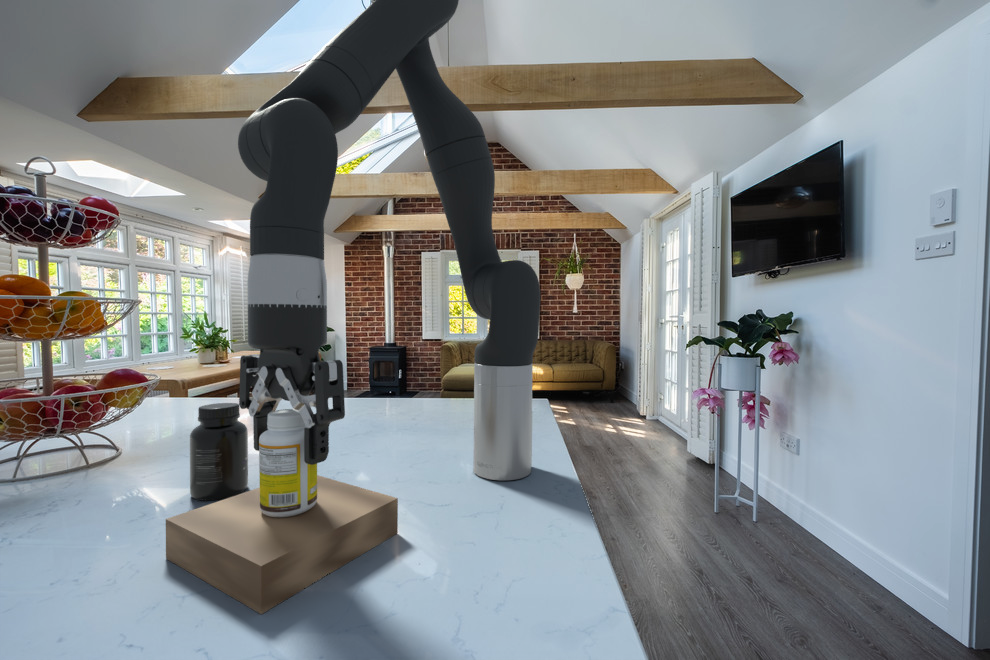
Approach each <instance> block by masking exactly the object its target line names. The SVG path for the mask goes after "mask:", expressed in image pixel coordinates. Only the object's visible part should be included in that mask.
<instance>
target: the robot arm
mask: <svg viewBox="0 0 990 660" xmlns="http://www.w3.org/2000/svg"><path fill="white" fill-rule="evenodd" d="M370 1H371V4H370V5H369V6H367V8H365V10H363V11H362V12H361V13H360V14H358V15H357V17H355V18H354V19H353V20H352V21H351V22H350V23H348V24H347V25H346V26H345V27H344V28H343V29H342V30H340V31H339V32H338V33H337V34H336V35H335V36H334V37H333V38H331V39H330V40H329V41H328V42H327V43H326V44H325V45H324V46H323V47H322V48H321V49H320V50H319V51H317V53H316V54H315V55H314V56H313V57H312V58H311V59H309V61H308V63H307V64H305V65H304V67H303V68H302V69H301V71H300V72H299V73H298V75H297V76H296V77H295V78H294V79H293V80H292V81H291V82H290V83H288V84H287V85H286V86H285V87H283V88H282V89H281V90H280V91H278V92H277V93H276V94H274V95H273V96H272V97H271V98H269V99H268V100H267V101H266V102H264V103H263V104H262V105H261V106H259V107H258V109H256V110H255V111H254V112H253V113H251V114H250V116H249V117H248V118H246V120H245V121H244V122H243V124H242V126H241V128H240V130H239V133H238V137H237V138H238V139H237V148H238V153H239V156H240V159H241V160H242V163H243V164H244V166H245V167H246V168H247V170H248V171H250V173H251V174H253V175H254V176H256V177H257V178H258V179H261V180H262V181H265V182H266V187H265V191H264V193H263V194H262V196H261V197H259V199H258V200H256V202H254V204H253V205H252V208H251V211H250V215H249V216H250V218H249V267H248V272H247V283H246V284H247V344H248V346H249V347H251V348H252V349H256V350H260V352H259V354H258V353H255V354H247V355H242V356H241V357H240V360H239V361H240V362H239V365H240V366H239V392H238V393H239V396H238V397H239V398H238V404H239V409H241V410H244V409H247V410H248V414H249V416H250V417H252V418H253V420H252V421H253V424H252V425H253V433H252V434H253V449H254V450H255V451H257V452H259V437H260V435H261V434H262V433H263V432H265V431H267V430H268V428H267V426H268V425H267V420H268V414H269V413H270V412H273V411H277V408H278V406H279V404H280V402H281V401H282V400H283V401H287V402H289V403H290V405H291V407H292V409H295V410H298V411H299V412H300V414H301V417H302V419H303V421H304V423H305V425H306V428H304V461H305V463H307V464H310V465H314V464H317V465H318V464H320V463H322V462H325V461H326V460H327V458H328V456H329V455H328V454H329V452H330V449H329V448H330V446H329V445H330V444H329V442H330V437H329V435H330V432H329V430H330V425H331V423H333V422H336V421H340V420H342V419H344V418H345V416H346V411H345V410H346V409H345V407H346V406H345V405H346V404H345V387H344V385H345V384H344V383H345V382H344V365H343V362H342V361H341V359H333V360H321V357H320V353H319V352H320V351H319V350H320V348H322V347H325V346H326V345H327V343H328V296H327V295H328V294H327V293H328V292H327V291H328V288H327V287H328V286H327V285H328V284H327V283H328V282H327V275H326V274H327V273H326V269H325V268H326V267H325V226H324V225H325V219H326V218H325V217H326V215H327V211H328V207H329V203H330V200H331V196H332V192H333V187H334V183H335V179H336V173H337V168H338V161H339V160H338V159H339V158H338V157H339V150H338V149H339V148H338V147H339V146H338V140H337V136H336V134H338V133H340V132H341V131H344V130H346V129H347V128H349V126H351V125H352V124H354V122H355V121H356V120H357V119H358V117H359V116H360V115H362V113H363V111H364V110H365V109H366V108H367V106H368V105H369V104H370V103H371V102H372V100H373V99H374V98H375V97H376V95H377V94H378V92H379V91H380V90H381V89H382V87H383V86H384V85H385V83H386V82H387V81H388V79H389V78H390V77H391V75H392V74H393V73H394V72H395V71H396V72H397V75H398V78H399V80H400V82H401V85H402V87H403V90H404V93H405V95H406V99H407V101H408V104H409V105H408V106H409V108H410V110H411V112H412V115H413V119H414V121H415V124H416V127H417V130H418V133H419V136H420V137H419V138H420V139H421V140H420V141H421V143H422V147H423V150H424V153H425V157H426V160H427V164H428V167H429V169H430V172H431V176H432V178H433V181H434V184H435V187H436V190H437V192H438V195H439V197H440V198H439V199H440V202H441V205H442V207H443V213H444V215H445V218H446V221H447V225H448V227H449V231H450V233H451V236H452V237H451V238H452V240H453V243H454V248H455V252H456V256H457V261H458V266H459V271H460V275H461V280H462V285H463V290H464V292H465V296H466V299H467V302H468V304H469V306H470V308H471V309H472V311H473V312H474V314H476V315H477V316H479V317H480V318H482V319H485V320H487V321H488V320H489V327H488V333H487V335H486V336H485V338H484V339H483V340H482V341H480V342H479V343H477V345H476V346H475V348H474V356H473V357H474V360H473V361H474V365H473V367H474V368H473V369H474V370H473V371H474V373H473V376H474V379H473V380H474V382H473V384H474V385H473V386H474V387H473V468H472V469H473V473H474V474H475V475H476V476H478V477H480V478H484V479H487V480H493V481H514V480H515V481H516V480H520V479H524V478H526V477H528V476H529V475H530V474H531V473H532V466H533V465H532V463H533V458H532V457H533V360H534V359H533V358H534V357H533V356H534V352H535V350H536V349H537V344H538V341H539V331H540V312H541V286H540V282H539V281H540V280H539V278H538V275H537V273H536V271H535V269H533V267H532V266H531V265H530V264H528V263H527V262H525V261H523V260H520V259H518V260H517V259H512V260H504V261H503V260H502V259H501V257H500V254H499V251H498V248H497V244H496V241H495V237H494V233H493V232H494V231H493V225H492V224H493V210H494V209H493V207H494V206H493V205H494V199H495V198H494V197H495V187H496V179H495V178H496V176H495V168H494V163H493V159H492V155H491V152H490V149H489V144H488V141H487V138H486V134H485V132H484V129H483V126H482V124H481V122H480V121H479V119H478V118H477V116H476V115H475V114H474V113H473V111H471V109H470V108H469V107H468V106H467V105H466V103H464V102H463V100H462V99H460V98H459V97H458V96H457V95H456V94H455V93H454V92H453V91H452V90H451V89H450V87H448V85H447V84H446V83H445V81H444V79H442V77H441V74H440V72H439V70H438V67H437V64H436V61H435V58H434V55H433V52H432V49H431V44H430V38H431V37H432V36H434V35H435V33H437V32H438V31H440V30H441V29H442V28H443V27H444V26H445V25H446V24H448V23H449V21H450V20H451V19H452V18H453V16H455V13H456V12H457V8H458V5H459V2H460V1H459V0H370ZM252 387H253V389H252V392H251V388H252ZM311 392H312V394H311ZM250 393H251V394H250ZM250 395H251V396H250ZM331 397H332V408H329V399H330V398H331ZM312 407H313V408H315V411H316V412H315V413H314V412H313V409H312Z"/></svg>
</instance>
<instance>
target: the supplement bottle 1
mask: <svg viewBox="0 0 990 660" xmlns="http://www.w3.org/2000/svg"><path fill="white" fill-rule="evenodd" d="M197 409H198V411H197V412H198V413H197V415H198V417H197V421H198V423H199V422H200V424H199V425H197V426H195V428H193V429H192V431H191V432H190V434H189V491H190V492H189V493H190V496H191V498H193V499H194V500H198V501H214V500H217V501H218V500H224V499H227V498H230V497H233V496H236V495H239V494H242V493H243V492H244V491H245V490H246V489H247V487H248V485H249V439H248V438H249V435H248V427H247V425H246V424H245V423H243V422H241V421H239V418H241V413H240V405H239V403H238V402H237V403H235V402H222V403H211V404H210V403H209V404H205V405H204V404H203V405H202V406H201V405H200V406H199V407H198V408H197Z"/></svg>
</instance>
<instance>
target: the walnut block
mask: <svg viewBox="0 0 990 660" xmlns="http://www.w3.org/2000/svg"><path fill="white" fill-rule="evenodd" d="M398 502H399V498H398V497H395V496H391V495H388V494H384V493H380V492H377V491H373V490H370V489H367V488H365V487H364V488H363V487H361V486H356V485H353V484H349V483H346V482H343V481H338V480H336V479H332V478H329V477H326V476H325V477H324V476H322V475H318V474H317V502H316V504H315V505H314V506H313V507H312V508H311V509H309V510H307V511H306V512H303V513H301V514H298V515H294V516H289V517H270V516H267V515H265V514H263V513H262V511H261V509H260V487H258V488H254V489H251V490H248V491H245V492H241V493H239V494H236V495H234V496H231V497H227V498H223V499H220V500H219V501H218V500H217V501H216V502H212V503H209V504H206V505H203V506H201V507H198V508H194V509H191V510H189V511H186V512H183V513H179V514H176V515H173V516H171V517H167V518H165V559H166V560H168V561H169V562H171V563H173V564H174V565H176V566H178V567H179V568H182V569H183V570H184V571H186V572H188V573H190V574H191V575H194V576H195V577H197V578H198V579H199V580H201V581H204V582H205V583H206V584H209V585H210V586H212V587H214V588H216V589H217V590H218V591H221V592H222V593H224V594H225V595H227V596H229V597H231V598H232V599H235V600H236V601H238V602H240V603H241V604H243V605H245V606H247V607H248V608H249V609H252V610H253V611H255V612H256V613H259V614H260V615H263V614H264V613H266V612H267V611H270V610H271V609H273V608H274V607H276V606H277V604H278V605H279V604H282V602H285V601H286V600H288V599H291V597H292V596H295V595H296V594H298V593H301V591H304V590H305V589H306V588H308V587H310V586H311V585H313V584H314V582H315V583H316V582H318V581H320V580H322V579H323V578H324V576H325V577H327V576H328V575H330V574H332V573H334V572H335V571H336V570H338V569H340V568H342V567H343V566H345V565H346V564H348V563H350V562H352V561H353V560H355V559H357V558H358V557H360V556H362V555H363V554H365V553H367V552H368V551H371V550H372V549H374V548H375V547H378V546H379V545H381V544H382V543H384V542H386V541H387V540H388V539H390V538H392V537H394V536H395V535H397V534H398V532H399V531H398V528H399V527H398V525H399V522H398V520H399V519H398V518H399V517H398V516H399V515H398V514H399V511H398V509H399V503H398ZM329 573H330V574H329ZM327 574H328V575H327ZM326 575H327V576H326ZM322 577H323V578H322ZM321 578H322V579H321ZM317 580H318V581H317ZM312 583H313V584H312ZM304 588H305V589H304Z"/></svg>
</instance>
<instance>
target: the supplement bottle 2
mask: <svg viewBox="0 0 990 660" xmlns="http://www.w3.org/2000/svg"><path fill="white" fill-rule="evenodd" d="M267 425H268V426H267V428H268V430H267V431H265V432H263V433H262V434H261V435H260V437H259V451H258V452H259V456H258V462H259V463H258V464H259V467H258V468H259V469H258V471H259V488H260V509H261V511H262V513H263V514H265V515H267V516H270V517H289V516H294V515H298V514H301V513H303V512H306V511H307V510H309V509H311V508H312V507H313V506H314V505H315V504H316V502H317V475H318V463H317V464H314V465H310V464H307V463H305V461H304V428H306V425H305V423H304V421H303V419H302V417H301V414H300V412H299V411H298V410H295V409H294V408H283V409H279V410H277V409H276V410H275V411H273V412H270V413H269V414H268V420H267Z"/></svg>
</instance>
